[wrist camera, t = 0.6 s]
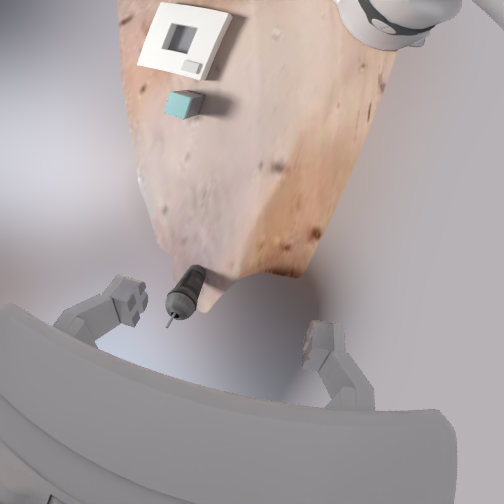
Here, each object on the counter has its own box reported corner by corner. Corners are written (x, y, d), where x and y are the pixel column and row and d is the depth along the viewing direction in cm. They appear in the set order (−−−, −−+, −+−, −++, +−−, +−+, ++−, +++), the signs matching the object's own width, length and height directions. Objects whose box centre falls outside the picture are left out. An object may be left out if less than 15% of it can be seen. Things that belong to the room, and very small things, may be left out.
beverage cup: (184, 278, 71) (153, 335, 55) (184, 257, 67) (149, 314, 51) (210, 285, 71) (184, 345, 55) (211, 263, 66) (182, 325, 50)
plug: (186, 90, 44) (170, 91, 38) (205, 95, 44) (190, 98, 38) (180, 108, 46) (163, 112, 40) (198, 114, 46) (183, 119, 41)
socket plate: (168, 5, 33) (159, 1, 30) (233, 17, 34) (227, 12, 31) (144, 65, 41) (135, 64, 38) (205, 80, 42) (198, 80, 39)
